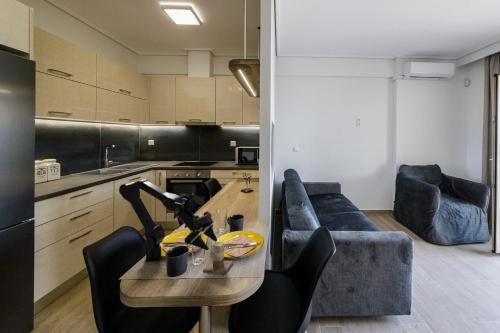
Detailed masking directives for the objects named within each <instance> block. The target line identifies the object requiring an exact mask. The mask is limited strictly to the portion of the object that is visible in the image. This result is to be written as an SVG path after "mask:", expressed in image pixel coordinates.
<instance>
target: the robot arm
mask: <svg viewBox="0 0 500 333" xmlns="http://www.w3.org/2000/svg"><path fill="white" fill-rule="evenodd" d="M141 191H143V192H146V193H147V194H148V195H150V196H152V197H153V198H154V199H156V200H158V201H160V202H161V203H162V205H163V207H165V209H167V210H168V211H170V212H173V219H177V218H179V220H180V221H181V222H182V223H183V224H184V226H183V227H184V228H185V229H186V228H187V229H188V230H189V231H190V233H189V234H187V236H186V237H185V238H184V239H183V240H184V242H183V243H185V244H186V246H189V245H190V246H194V247H198V248H199V249H201V250H204V251H209V250H210V249H209V246H208V245H207V244H206V242H205V241H204V240H203V238H202V232H203V235H205V236H206V237H207V238H209V239H210V240H212V241H214V243H215V242H218V238H217V236H216V234H215V231H214V229H213V228H214V221H213V218H212V216H213V215H212V213H210V212H209V211H208V210H207V211H205V212H203V215H202V216H199V215H195V213H197V212H198V211H199V210H200V209H201V208H202V206H204V204H205V201H204V199H203V198H202V197H201V196H199V195H196V194H195V193H192V194H190V195H189V197H188V198H183V197H182V196H181V195H177V194H175V193H171V192H167V191H165V190H163V189H162V188H160V187H159V186H157V185H155V184H154V183H152V182H150V181H149V180H148V179H147V178H142V179H139V180H137V181H129V182H125V183H122V184H120V185H119V188H118V192H119V194H120V195H121V197H122V198H123V199H124V200H125V201H127V202H128V203H129V204H130V205H131V207H132V209H133V210H134V213H135V214H136V216H137V218H138V219H139V221H140V223H141V225H142V226H143V228H144V238H145V240H144V241H143V242H142V243H141V248H142V250H145V262H152V261H159V260H161V257H162V254H163V253H162V252H163V250H162V246H161V244H162V243H163V241H164V239H165V237H166V231H165V230H164V228H163V226H162V224H156V223H155V222H154V220H153V217H152V216H151V215H150V213H149V211H148V209H147V207H146V206H145V204H144V202H143V200H142V199H141ZM178 209H179V210H178Z"/></svg>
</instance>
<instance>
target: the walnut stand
mask: <svg viewBox="0 0 500 333" xmlns="http://www.w3.org/2000/svg"><path fill="white" fill-rule="evenodd" d="M232 265H233V260H225V259H224V258H223V259H222V261H221V262H220V261H213V260H212V259H211V260H210V261H209V262H208V263H207V264H206V266H204V268H203V269H202V272H205V273H212V274H216V275H223V276H225V275H226V274H227V272H228V271H229V269H230V268H231V266H232Z"/></svg>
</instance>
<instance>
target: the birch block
mask: <svg viewBox="0 0 500 333" xmlns="http://www.w3.org/2000/svg"><path fill="white" fill-rule="evenodd" d="M224 258H225V243H224V242H222V241H216V242H215V241H214V243H212V244H211V260H213V261H220V262H221V261H222V259H223V260H224Z"/></svg>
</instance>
